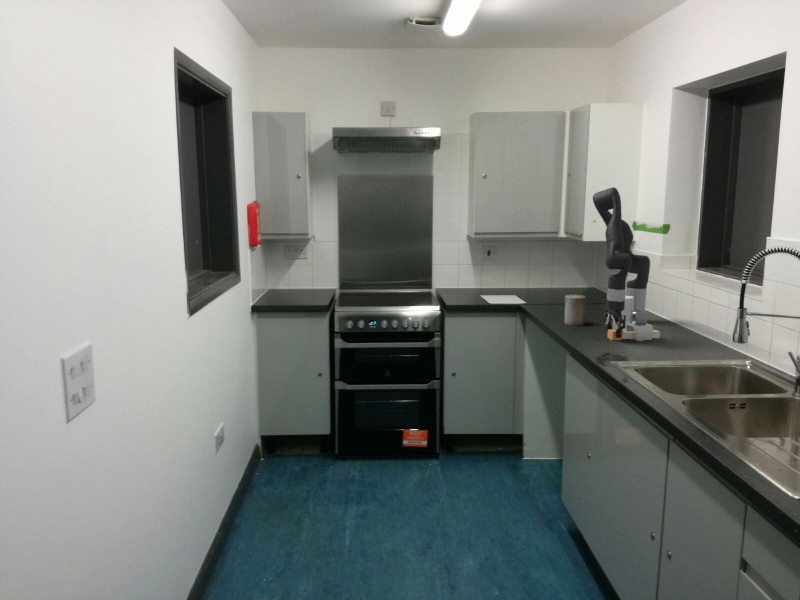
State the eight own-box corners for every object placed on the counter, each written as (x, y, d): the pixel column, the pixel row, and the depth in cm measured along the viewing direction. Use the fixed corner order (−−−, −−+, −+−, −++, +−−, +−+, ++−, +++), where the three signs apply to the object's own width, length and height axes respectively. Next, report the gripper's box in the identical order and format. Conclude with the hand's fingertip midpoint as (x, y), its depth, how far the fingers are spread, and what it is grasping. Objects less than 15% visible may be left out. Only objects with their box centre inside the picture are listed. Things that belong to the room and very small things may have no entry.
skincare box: (632, 328, 281) (635, 296, 278) (630, 331, 275) (632, 298, 272) (614, 326, 285) (616, 294, 282) (611, 329, 279) (613, 296, 276)
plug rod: (607, 338, 262) (607, 329, 261) (654, 336, 266) (655, 327, 265) (612, 340, 258) (612, 331, 257) (660, 338, 262) (660, 329, 261)
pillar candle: (587, 323, 293) (588, 292, 291) (581, 326, 285) (582, 295, 283) (567, 321, 298) (568, 291, 296) (561, 324, 290) (562, 293, 288)
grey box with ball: (622, 334, 268) (624, 309, 266) (636, 334, 269) (638, 308, 267) (636, 341, 257) (638, 314, 255) (651, 340, 258) (654, 314, 256)
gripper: (599, 296, 265) (597, 332, 267) (616, 302, 251) (613, 339, 253) (615, 296, 266) (613, 331, 268) (632, 301, 252) (630, 339, 255)
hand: (613, 335), depth 261 cm, fingers open, 8 cm apart
